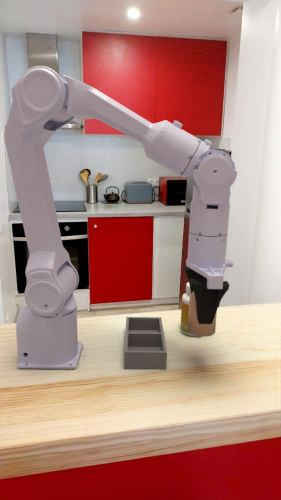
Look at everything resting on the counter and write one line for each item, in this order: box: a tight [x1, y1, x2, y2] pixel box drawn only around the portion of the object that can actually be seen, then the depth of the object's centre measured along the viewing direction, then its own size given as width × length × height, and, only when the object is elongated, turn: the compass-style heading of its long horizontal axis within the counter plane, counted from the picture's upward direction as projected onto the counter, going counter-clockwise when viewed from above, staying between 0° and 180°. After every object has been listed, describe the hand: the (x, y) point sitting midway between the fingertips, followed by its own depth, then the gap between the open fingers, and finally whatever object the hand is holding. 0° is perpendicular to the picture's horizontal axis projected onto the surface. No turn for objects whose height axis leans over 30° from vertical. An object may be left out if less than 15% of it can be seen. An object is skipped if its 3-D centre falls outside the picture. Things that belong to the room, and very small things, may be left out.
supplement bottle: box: [179, 281, 198, 338], centre depth 70 cm, size 5×5×10 cm
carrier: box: [123, 316, 168, 370], centre depth 64 cm, size 7×13×3 cm, turn 1°
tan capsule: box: [188, 291, 218, 338], centre depth 57 cm, size 4×4×7 cm
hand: (202, 316), depth 58 cm, fingers closed on tan capsule, 4 cm apart
